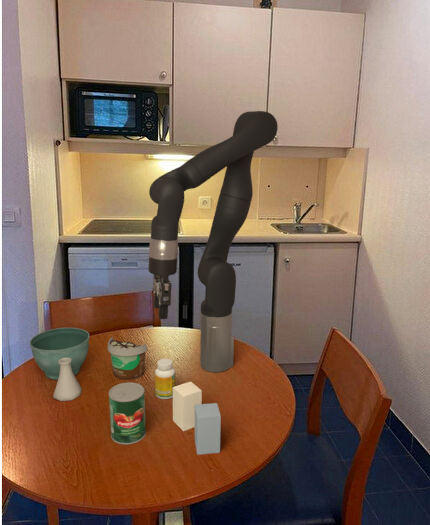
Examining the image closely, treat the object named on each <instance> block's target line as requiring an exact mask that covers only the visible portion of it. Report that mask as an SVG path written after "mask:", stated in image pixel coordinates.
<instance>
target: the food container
mask: <svg viewBox="0 0 430 525" xmlns="http://www.w3.org/2000/svg"><path fill="white" fill-rule="evenodd" d="M106 349H107V351H108V352H109V353H110V358H111V359H110V360H111V366H112V372H113V376H114V377H115V378H116V379H119V380H123V381H131V380H135V379H138V378H140V377H143V376H144V375H145V363H146V362H145V360H146V352H147V351H148V346H147V343H144V344H142V345H140V344H136V343H134V342H130V341H121V340H115V339H114V338H113V336H112V337H110V338H109V340H108V342H107V348H106Z"/></svg>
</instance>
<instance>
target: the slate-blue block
mask: <svg viewBox="0 0 430 525" xmlns="http://www.w3.org/2000/svg"><path fill="white" fill-rule="evenodd" d="M221 420H222V417H221V413H220V409H219V405H218V403H217V402H215V403H202V404H197V405H195V427H194V444H195V450H196V455H208V454H220V453H221Z"/></svg>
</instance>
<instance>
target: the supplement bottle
mask: <svg viewBox="0 0 430 525" xmlns="http://www.w3.org/2000/svg"><path fill="white" fill-rule="evenodd" d="M173 363H174V362H173V360H172V359H171V358H161V359H159V360H158V361H157V363H156V366H157V368H156V369H155V370H154V380H155V381H154V382H155V383H154V384H155V385H154V387H155V389H154V390H155V396H156V397H157V398H158V399H160V400H169V399H173V387H175V386H176V370H175V367H173V365H174V364H173Z"/></svg>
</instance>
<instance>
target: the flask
mask: <svg viewBox="0 0 430 525" xmlns="http://www.w3.org/2000/svg"><path fill="white" fill-rule="evenodd" d="M71 360H72V359H71V358H62V359H60V360H59V362H58V363H59V364H60V374H59V378H58V380H57V382H56V387H55V390H54V392H53V396H52V398H53V399H54V400H58V401H61V402H65V401H73V400H75V399H76V398H78V397H79V396H81V394H82V387H81V385H80V383H79V382H78V380H77V378H76V375H75V376H74V374H73V371H72V368H71Z"/></svg>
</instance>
